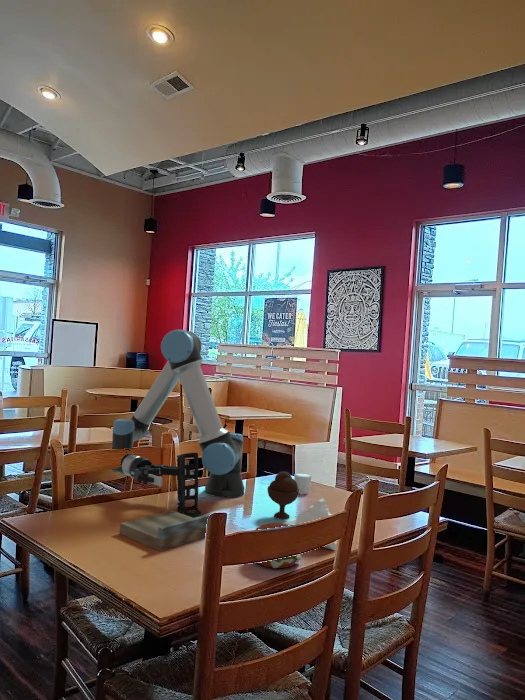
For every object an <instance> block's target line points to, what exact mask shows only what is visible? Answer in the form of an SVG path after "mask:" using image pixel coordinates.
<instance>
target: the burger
mask: <svg viewBox="0 0 525 700" xmlns="http://www.w3.org/2000/svg"><path fill="white" fill-rule="evenodd" d="M281 526H288V525H286V524H284V522H283V523H282V522H278V521H277V522H275V521H274V522H265V523H264V524H263V523H262V524H261V525H259V526H257V527H256V528H255V530H258V529H267V528H275V527H281ZM301 560H302V553H301V554H300V555H296V556H291V557H286V558H282V559H277V560H272V561H267V562H262V563H257V564H259V565H261V566H263V567H268V568H273V569H277V568H278V569H281V568H283V569H284V568H288V567H292V566H293V565H295V564H296V563H298V562H299V561H301Z"/></svg>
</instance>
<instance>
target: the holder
mask: <svg viewBox="0 0 525 700" xmlns="http://www.w3.org/2000/svg"><path fill="white" fill-rule="evenodd" d="M176 458H177V459H176V462H177V464H176V465H177V466H176V467H177V476H176V480H177V490H176V491H177V501H178V502H177V505H178V506H177V509H176V510H177V512H178V513H181V514H184V515H187V516H190V517H192V518H196V517H199V516H202V515H201V514H202V512H201V510H200V509H199V453H198V452H187V453H186V452H185V453H181V454H177V455H176ZM191 458H192V459H193V458H194V459H193V460H194V462H193V463H190V464H186V459H191ZM191 469H194V474H193V475H191V474H190V472H191ZM185 470H186V475H185ZM188 479H193V480H194V484H189V485H186V480H188ZM191 490H194V494H192V495H191ZM190 500H191V501H192V500H194V502H193V503H194V504H193V505H186V501H190ZM193 511H195V512H193Z"/></svg>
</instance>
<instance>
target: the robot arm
mask: <svg viewBox="0 0 525 700" xmlns="http://www.w3.org/2000/svg"><path fill="white" fill-rule="evenodd" d="M160 350H161V353H162V355H163V357H164V359H165V360H166V363H165V364H164V367H163V368H162V370H161V371H160V372H159V374H158V376H157V377H156V379H155V381H154V382H153V383H152V384H151V386H150V388H149V390H148V391H147V392H146V394H145V396H144V397H143V399H142V401H141V402H140V404H139V405H138V407H137V408H136V410H135V412H134V413H133V415H132V417H131V418H130V419H127V418H119V419H115V420H114V421H113V427H112V442H111V450H112V449H124V448H130V449H132V448H133V449H134V442H136V441H140V440H141V439H144V437H145V436H146V435H147V433H148V430H149V428H150V425H151V423H152V422H153V421H154V419H155V418H156V416H157V414H158V413H159V411H160V410H161V408H162V407H163V405H164V403H165V402H166V401H167V399H168V397H169V396H170V394H171V393H172V391H173V390H174V388H175V386H176V385H177V384H178V382H179V381H180V384H181V386H182V389H183V391H184V394H185V397H186V399H187V402H188V405H189V408H190V412H191V414H192V416H193V420H194V422H195V424H196V427H197V430H198V433H199V435H200V438H199V441H198V445H199V448H200V451H201V453H202V454H201V462H202V465H203V467H204V469H205V470H206V471H207V472H208V473H209V476H208V478H207V480H206V481H207V482H206V483H205V485H204V493H205V494H207V495H209V496H212V497H217V498H237V497H238V498H239V497H242V496H243V495H244V494H245V486H244V482H243V476H242V461H243V446H244V436H243V434H241V433H234V432H230V430H229V429H227V428H224V427H223V424H222V421H221V417H220V415H219V413H218V410H217V408H216V405H215V402H214V399H213V396H212V394H211V392H210V388H209V386H208V383H207V381H206V378H205V375H204V372H203V370H202V366H201V365H202V362H203V358H202V354H201V352H202V351H201V350H202V343H201V340H200V337H199V336H198V335H197V334H196V333H194V331H189V330H185V329H174V330H171V331H169V332H168V333H166V334H165V335H164V336H163V338H162V341H161V343H160ZM125 450H129V449H125ZM129 451H130V450H129ZM126 453H127V452H126ZM120 465H121V467H119V468H117V469H111V471H112V472H114V473H118V474H120V475H121V474H122V475H125V476H128V477H130V479H135V481H136V482H137V483H139V484H140V483H142V484H143V485H148V484H147V483H149V484H151V485H154V486H158V487H163V483H164V482H163V481H164V480H163V479H164V478H163V477H162V476H173V477H174V476H176V477H177V466H176V465H175V466H173V465H165V464H162V463H161V464H159V465H157V464H153V463H152V461H151V460H150V459H148V458H145V457H143V456H139V455H135V454H133V453H132V454H127V455H125V456H124V457H123V458H122V459H121V464H120ZM190 474H191V475H193V474H195V471H190ZM185 475H186V469H185ZM187 480H188V481H194V479H187Z"/></svg>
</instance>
